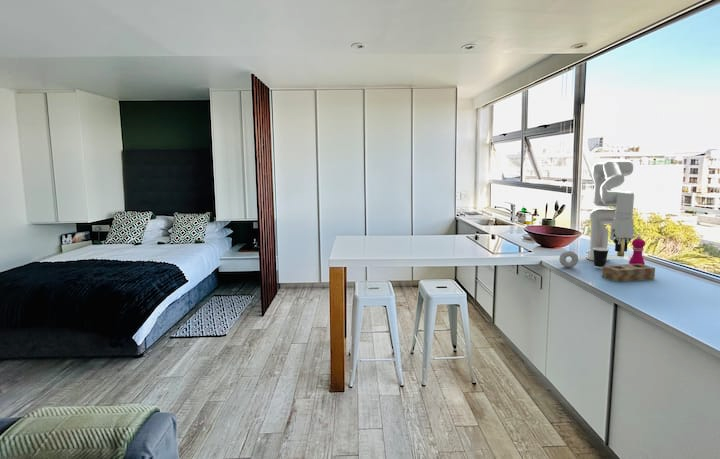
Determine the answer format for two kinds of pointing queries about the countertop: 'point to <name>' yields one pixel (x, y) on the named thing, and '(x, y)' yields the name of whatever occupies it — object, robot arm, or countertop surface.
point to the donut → (567, 254)
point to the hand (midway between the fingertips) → (620, 250)
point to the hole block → (628, 272)
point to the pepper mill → (637, 251)
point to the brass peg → (622, 248)
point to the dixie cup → (600, 257)
